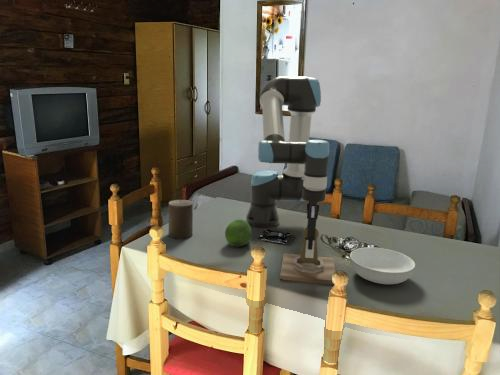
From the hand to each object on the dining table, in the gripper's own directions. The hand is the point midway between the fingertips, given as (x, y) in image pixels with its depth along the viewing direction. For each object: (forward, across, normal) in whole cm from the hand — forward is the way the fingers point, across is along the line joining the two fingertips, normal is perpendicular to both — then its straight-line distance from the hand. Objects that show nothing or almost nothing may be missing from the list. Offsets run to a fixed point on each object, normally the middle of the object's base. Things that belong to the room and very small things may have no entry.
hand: (309, 254), depth 143 cm
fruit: (+6, -18, -27) cm, 33 cm away
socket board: (+6, 0, 0) cm, 6 cm away
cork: (+2, 0, 0) cm, 2 cm away
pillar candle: (+6, -22, -52) cm, 57 cm away
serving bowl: (+6, 0, +24) cm, 25 cm away
